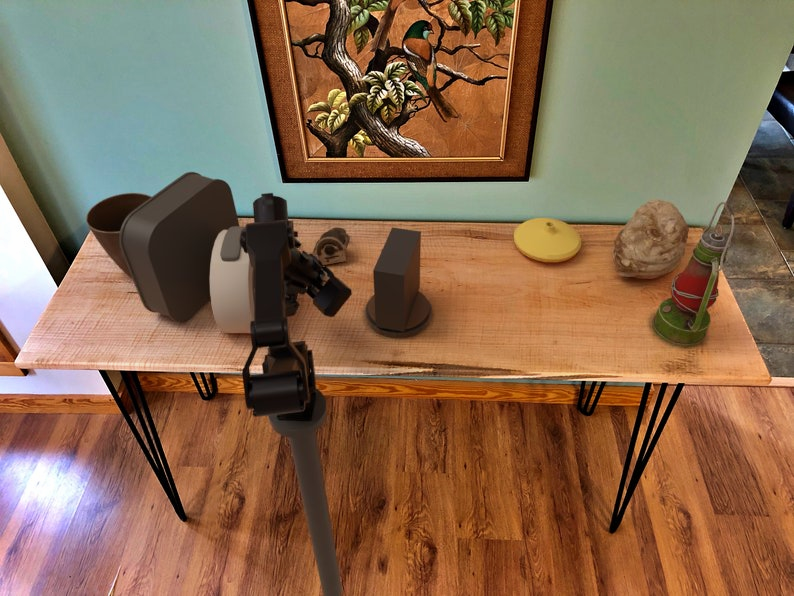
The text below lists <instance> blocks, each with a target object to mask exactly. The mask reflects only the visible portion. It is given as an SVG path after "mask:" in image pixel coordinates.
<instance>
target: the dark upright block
mask: <svg viewBox="0 0 794 596" xmlns="http://www.w3.org/2000/svg"><path fill="white" fill-rule="evenodd" d="M421 240H422V231H420V230H414V229H413V230H412V229H407V228H399V227H394V226H393V227H391V229H390V230H389V234H388V235H387V238H386V241H385V243H384V245H383V247H382V250H381V251H380V254H379V256H378V258H377V260H376V263H375V265H374V267H373V270H372V276H373V277H372V278H373V295H372V296H371V297H370V298H369V300H368V301H369V303H368V302H367V303H368V313H369V316H370V318H371V319H372V320H373V321H374V322H375V323H376V327H380V328H386V329H390V330H397V331H403V332H404V331H405V330H406V329H410V328H413V327H416V326H418V325H419V324H421V323H422V322H423V321H424V320H425V319H426V318H427V316H428V314H429V302H430V301H429V299H428V298H427V296H426V295H424V293H422V292H421V291H420V288H421V249H422V248H421V247H422V246H421V245H422V241H421ZM427 299H428V300H427ZM428 301H429V302H428Z"/></svg>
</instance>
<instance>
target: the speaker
mask: <svg viewBox="0 0 794 596" xmlns="http://www.w3.org/2000/svg"><path fill="white" fill-rule="evenodd" d="M234 226H240V222H239V218H238V214H237V209H236V205H235V200H234V196H233V191H232V188H231V186H230V185H229V184H228V182H227V181H225V180H224V179H219V178H210V177H208V176H205V175H202V174H200V173H199V172H195V171H189V172H188V171H187V172H185V173H183V174H181V175H180V176H179V177H177V178H176V179H174V180H173V181H172V182H170V183H169V184H168V185H166V186H165V187H163V188H162V189H161V190H160V191H158V192H157V193H155V194H153V196H151V198H150V199H148V200H147V201H146V202H144V203H143V204H141V205H140V206H139V207H137V208H136V209H135V210H133V211H132V212H131V213H130V214H129V215H128V216H127V217H126V219H125V220H124V222H123V224H122V226H121V230H120V235H119V243H120V247H121V250H122V253H123V256H124V258H125V261H126V263H127V266H128V268H129V271H130V273H131V276H132V278H131V279H132V281H133V284H134V286H135V288H136V291H137V294H138V296H139V298H140V300H141V303H142V306H143V307H144V308H145V309H146V310H147V311H149V312H151V313H158V314H159V315H162V316H166V317H168V318H170V319H171V320H172V321H174V322H177V323H183V322H186V321H188V320H190V319H192V317H193V316H195V315H196V314H197V313H198V312H199V311H200V310H201V309H202V308H203V307H204V306H205V305H206V304H208V302H210V301H211V296H210V263H211V257H212V251H213V247H214V243H215V240H216V238H217V236H218V234H219V233H220V232H221V231H223V230H228V229H229V228H230V227H234Z"/></svg>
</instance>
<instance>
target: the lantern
mask: <svg viewBox="0 0 794 596" xmlns="http://www.w3.org/2000/svg"><path fill="white" fill-rule="evenodd" d="M722 205H723V207H724V208H725V210H726V212H727V214H728V216H729V217H730V218H731V229H730V234H729V236H727V235H725V234H724V233H723V227H722V225H721V224H718V225H717V227H716V228H715V229H716V230H715V231H713V230H710V228H711V226H712V224H713V222H714V220H715V217H716V214H717V213H718V211H719V208H720V207H721V206H722ZM719 227H720V232H719V231H718V230H719ZM709 230H710V231H709ZM734 231H735V213H734V211H733V209H732V207H731V206H730V203H729V202H727V201H721V202H719V203H718V205H716V208H715V210H714V213H713V214H712V216H711V218H710V221H709V223H708V226H707V227H706V228H705V229H704V230H703V231H702V234H701V235H700V239H699V240H698V243H696V246H695V247H694V248H693V249H692V251H691V252H692V253H691V256H690V258H689V260H688V261H687V265H686V266H685V268H684V269H683V270H682V271H681V272H680V273H678V274H677V275H675V276H674V277H673V280H672V284H671V293H670V296H671V297H668V298H666V299H664V300H662V301H661V303H660V304H659V306H658V308H657V310H656V313H655V315H654V316H653V318H652V319H651V329H652V330H653V332H654V334H655V335H656V336H657V337H658V338H659V339H661V340H662V341H663V342H665V343H666V344H670V345H672V346H675V347H679V348H686V349H687V348H695V347H697V346H699V345H701V344H703V342H704V341H705V339H706V336H707V331H708V329H709V326H710V325H711V323H712V320H711V314H710V312H709V311H708V310H709V309H710V308H711V307H713V306H714V304H715V303H716V301H717V298H718V297H719V296H720V294H719V293H720V292H719V288H718V287H719V279H720V278H719V277H720V271H722V270H723V265H725V263H726V262H727V255H728V252H729V248H730V247H731V244H732V241H731V240H732V238H733V235H734Z"/></svg>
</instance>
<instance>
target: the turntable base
mask: <svg viewBox="0 0 794 596" xmlns="http://www.w3.org/2000/svg"><path fill="white" fill-rule="evenodd" d="M427 300H428V302H429V314H428V316H427V318H426V319H425V320H424V321H423V322H422V323H421V324H419V325H418V326H416V327H413V328H410V329H406V330H405V331H404V332H403V331H397V330H390V329H386V328H380V327H376V323H375V322H374V321H373V320H372V319H371V318H370V316H369V313H368V303H369V300H367V303H366V305H365V319H366V320H365V321H366V322H367V324H368V326H369V327H370V328H371V329H372V330H373V332H375V333H377V334H379V335H381V336H384V337H387V338H392V339H404V338H410V337H413V336H416V335H417V334H420V333H421V332H423V331H425V330H426V328H427V327H428V326H429V325H430V323H431V321H432V316H433V315H432V312H433V311H432V304H431V303H430V300H429V299H428V298H427Z"/></svg>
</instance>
